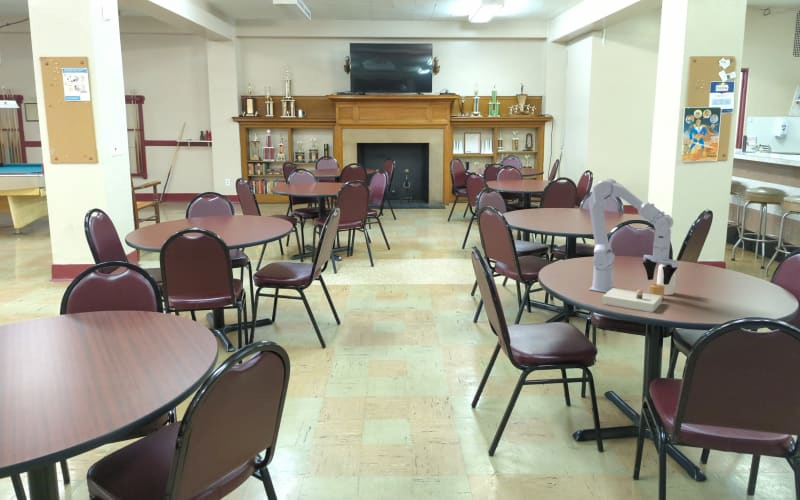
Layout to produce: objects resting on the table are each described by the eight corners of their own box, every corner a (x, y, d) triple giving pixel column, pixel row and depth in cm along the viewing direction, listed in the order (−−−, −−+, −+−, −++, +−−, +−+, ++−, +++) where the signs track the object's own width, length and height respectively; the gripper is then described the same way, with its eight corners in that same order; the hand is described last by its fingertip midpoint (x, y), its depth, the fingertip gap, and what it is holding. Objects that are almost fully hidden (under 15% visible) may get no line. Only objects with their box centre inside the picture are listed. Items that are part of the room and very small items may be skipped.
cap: (651, 296, 245) (652, 283, 244) (663, 298, 243) (665, 285, 242) (648, 298, 242) (649, 286, 241) (661, 300, 239) (662, 288, 238)
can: (672, 291, 252) (676, 262, 249) (674, 296, 246) (677, 266, 243) (655, 290, 254) (658, 261, 251) (656, 294, 248) (659, 264, 245)
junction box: (612, 295, 246) (613, 280, 244) (661, 303, 236) (662, 287, 235) (601, 303, 234) (603, 288, 233) (652, 312, 224) (654, 296, 223)
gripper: (638, 244, 243) (635, 278, 246) (669, 251, 230) (666, 287, 233) (652, 243, 246) (649, 276, 249) (683, 250, 233) (679, 285, 236)
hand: (658, 281), depth 241 cm, fingers open, 7 cm apart
